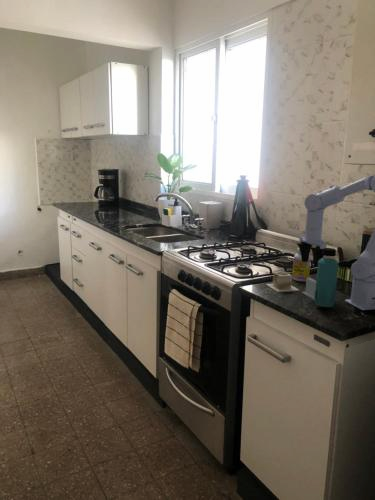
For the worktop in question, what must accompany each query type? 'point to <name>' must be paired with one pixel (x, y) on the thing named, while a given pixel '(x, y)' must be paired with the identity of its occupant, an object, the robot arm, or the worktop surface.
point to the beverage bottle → (326, 279)
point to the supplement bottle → (300, 267)
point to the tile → (282, 289)
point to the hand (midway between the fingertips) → (310, 264)
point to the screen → (310, 288)
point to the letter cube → (282, 280)
